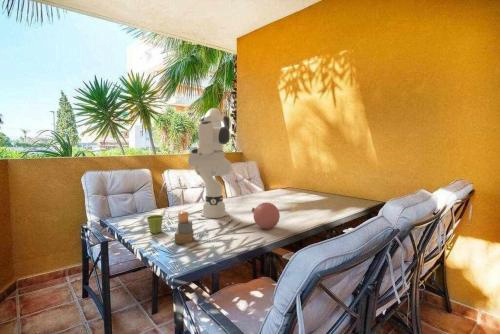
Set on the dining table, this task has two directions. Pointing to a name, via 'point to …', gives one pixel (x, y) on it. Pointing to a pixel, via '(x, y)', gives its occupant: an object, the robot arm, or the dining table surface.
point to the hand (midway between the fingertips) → (206, 174)
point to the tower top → (185, 228)
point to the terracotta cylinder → (183, 217)
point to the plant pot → (155, 223)
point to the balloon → (266, 215)
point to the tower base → (184, 237)
